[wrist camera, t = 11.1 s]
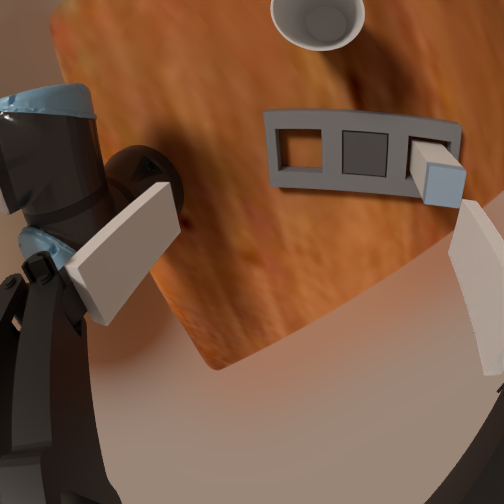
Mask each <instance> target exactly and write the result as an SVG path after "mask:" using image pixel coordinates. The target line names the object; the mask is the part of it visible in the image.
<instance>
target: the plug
mask: <svg viewBox="0 0 504 504" xmlns="http://www.w3.org/2000/svg"><path fill="white" fill-rule="evenodd" d="M409 170H410V172H411V175H412V177H413V179H414V181H415V183H416V186H417V188H418V190H419V193H420V195H421V197H422V200H423V202H424V204H428V205H437V206H444V207H452V208H460V204H461V199H462V194H463V189H464V183H465V177H466V170H465V169H464V168H463V167H462V166H461V164H460V163H459V162H458V161H457V160H456V159H455V158H454V157H453V156H452V154H451V153H450V152H449V151H448V150H447V149H446V148H445V147H444V146H443V145H442V144H441V143H438V142H431V141H424V140H416V139H411V150H410V162H409Z"/></svg>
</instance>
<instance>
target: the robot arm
mask: <svg viewBox="0 0 504 504" xmlns="http://www.w3.org/2000/svg"><path fill="white" fill-rule="evenodd" d="M96 119H97V117H96V115H95V114H94V109H93V104H92V99H91V93H90V91H89V89H88V87H87V86H85V85H84V84H81V83H67V84H59V85H53V86H48V87H42V88H37V89H33V90H29V91H24V92H21V93H18V94H14V95H11V96H7V97H4V98H1V99H0V212H1V213H3V214H6V215H10V214H12V213H14V212H16V211H18V210H20V209H22V211H23V214H24V217H25V219H26V222H27V225H28V226H27V227H24V228H23V229H22V232H21V233H20V235H19V237H18V241H19V248H20V250H21V253H22V255H23V257H24V258H25V260H26V261H25V262H24V263H23V265H22V269H23V271H24V273H25V275H26V277H27V278H28V280H29V282H30V283H26V282H25V280H24V279H23V277H22V275H21V274H19V273H18V274H13V275H10V276H9V277H7V278H6V279H5V280H4V281H3V282H2V284H1V285H0V504H122V503H121V500H120V497H119V496H118V494H117V492H116V490H115V489H114V488H113V487H112V485H111V484H110V483H109V481H108V478H107V476H106V472H105V467H104V463H103V459H102V454H101V449H100V444H99V439H98V433H97V428H96V422H95V415H94V408H93V401H92V393H91V385H90V374H89V362H88V348H87V325H86V321H85V319H84V317H83V316H84V314H85V313H86V312H87V311H88V313H89V314H90V316H91V318H92V320H93V321H94V322H96V323H99V324H102V325H106V326H108V325H109V324H110V322H111V320H112V319H113V318H114V317H115V315H116V314H117V313H118V311H119V310H120V309H121V307H122V306H123V305H124V303H125V302H126V301H127V299H128V298H129V296H130V295H131V294H132V292H133V291H134V290H135V289H136V287H137V286H138V285H139V283H140V282H141V281H142V280H143V278H144V277H145V276H146V274H147V273H148V272H149V271H150V269H151V268H152V267H153V266H154V264H155V263H156V262H157V261H158V259H159V258H160V257H161V256H162V254H163V253H164V252H165V251H166V249H167V248H168V247H169V246H170V244H171V243H172V242H173V241H174V240H175V238H176V237H177V236H178V235H179V233H180V232H181V229H180V225H179V221H178V215H179V214H180V212H181V209H182V205H183V189H182V184H181V181H180V178H179V176H178V174H177V172H176V170H175V169H174V167H173V166H172V164H171V163H170V162H169V161H168V160H167V159H166V158H165V157H164V156H163V155H162V154H160V153H159V152H157V151H156V150H154V149H152V148H149V147H146V146H141V145H134V146H129V147H127V148H125V149H123V150H121V151H119V152H117V153H116V154H115V155H113V156H112V157H111V158H110V159H109V161H108V162H107V163H106V165H105V166H104V165H103V160H102V155H101V150H100V144H99V139H98V133H97V126H96ZM448 254H449V257H450V259H451V262H452V264H453V267H454V270H455V273H456V276H457V278H458V281H459V284H460V287H461V290H462V293H463V296H464V299H465V302H466V306H467V309H468V312H469V316H470V319H471V323H472V326H473V330H474V334H475V338H476V341H477V346H478V350H479V354H480V359H481V363H482V368H483V373H484V376H485V375H501V374H502V373H503V372H504V241H503V239H502V237H501V236H500V234H499V233H498V231H497V230H496V228H495V227H494V225H493V224H492V222H491V221H490V219H489V218H488V216H487V215H486V214H485V212H484V211H483V209H482V208H481V207H480V205H479V204H478V203H477V201H472V200H465V199H462V201H461V206H460V210H459V214H458V218H457V222H456V226H455V230H454V234H453V238H452V241H451V245H450V248H449V251H448ZM13 317H15V319H16V320H17V321H18V323H19V324H20V326H21V330H20V331H18V330H17V329H16V328H15V326H14V325H13V324H12V319H13ZM501 390H502V391H501ZM500 391H501V393H500V395H499V397H498V399H497V401H496V403H495V404H494V406H493V408H492V410H491V412H490V413H489V415H488V417H487V419H486V420H485V422H484V424H483V425H482V427H481V429H480V430H479V432H478V433H477V435H476V437H475V438H474V440H473V441H472V443H471V444H470V446H469V447H468V449H467V450H466V452H465V453H464V454H463V456H462V457H461V459H460V460H459V462H458V463H457V464H456V466H455V467H454V468H453V470H452V471H451V472H450V473H449V475H448V476H447V477H446V479H445V480H444V481H443V483H442V484H441V485H440V486H439V487H438V489H437V490H436V491H435V492H434V493H433V494H432V496H431V497H430V498H429V499H428V500H427V501H426V502H425V504H504V383H503V385H502V386H501V387H500V388H499V389H498V390H497V392H498V393H499V392H500Z"/></svg>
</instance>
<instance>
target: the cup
mask: <svg viewBox="0 0 504 504" xmlns="http://www.w3.org/2000/svg"><path fill="white" fill-rule="evenodd" d="M271 16H272V19H273V22H274V24H275V26H276V28H277V29H278V31H279V32H280V33H281V34H282V35H283V36H284V37H285V38H286V39H287V40H289V41H290V42H292V43H293V44H295V45H297V46H299V47H302V48H305V49H309V50H315V51H327V50H333V49H337V48H340V47H343V46H345V45H346V44H348V43H349V42H351V41H352V40H353V39H354V38H355V37H356V36H357V35H358V33H359V32H360V30H361V28H362V26H363V23H364V18H365V10H364V5H363V2H362V0H272V1H271Z"/></svg>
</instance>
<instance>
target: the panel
mask: <svg viewBox="0 0 504 504" xmlns="http://www.w3.org/2000/svg"><path fill="white" fill-rule="evenodd" d="M264 122H265V133H266V143H267V154H268V165H269V177H270V187H285V188H307V189H325V190H340V191H354V192H366V193H378V194H388V195H398V196H408V197H417V198H422V197H421V195H420V193H419V190H418V188H417V186H416V183H415V181H414V179H413V177H412V175H407V174H406V164H407V152H408V137H409V136H416V137H423V138H430V139H437V140H444V141H447V144H446V149H447V150H448V151H449V152H450V153H451V154H452V156H453V157H454V158H455V159H456V160H457V161H458V158H459V150H460V141H461V131H462V126H461V125H460V124H458V123H457V122H452V121H446V120H440V119H434V118H427V117H420V116H413V115H405V114H396V113H386V112H374V111H361V110H342V109H267V110H266V111H264ZM279 129H321V133H322V168H317V167H290V166H282V165H281V152H280V139H279ZM342 130H344V165H343V169H342Z"/></svg>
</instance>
